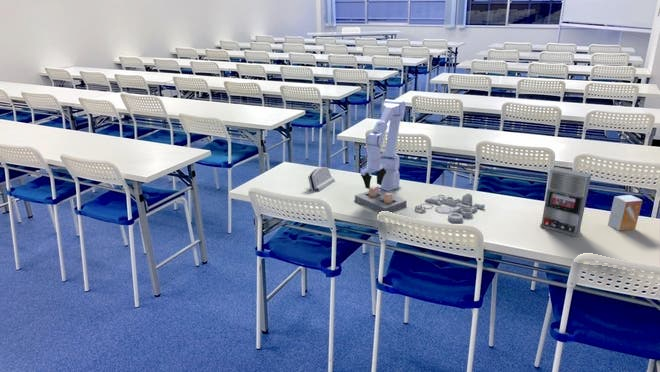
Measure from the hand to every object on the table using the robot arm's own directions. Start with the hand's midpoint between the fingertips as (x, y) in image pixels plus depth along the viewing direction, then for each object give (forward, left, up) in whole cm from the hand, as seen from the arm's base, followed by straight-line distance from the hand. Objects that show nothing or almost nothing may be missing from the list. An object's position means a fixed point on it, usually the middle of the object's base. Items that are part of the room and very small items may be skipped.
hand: (373, 186), depth 220 cm
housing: (0, +5, -7) cm, 9 cm away
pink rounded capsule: (0, 0, -7) cm, 7 cm away
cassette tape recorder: (-37, +72, -7) cm, 81 cm away
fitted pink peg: (0, +10, -7) cm, 12 cm away
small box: (-59, +87, -7) cm, 105 cm away
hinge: (+7, -31, -7) cm, 33 cm away
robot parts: (-19, +29, -8) cm, 35 cm away
